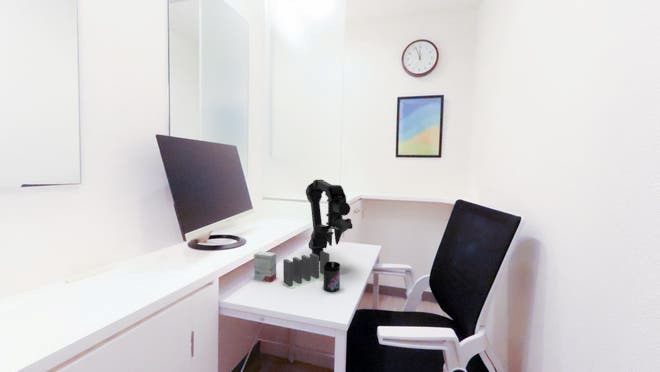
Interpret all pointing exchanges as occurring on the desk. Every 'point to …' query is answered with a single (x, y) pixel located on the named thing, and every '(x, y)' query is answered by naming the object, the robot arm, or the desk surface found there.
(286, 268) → the domino
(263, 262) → the ink box
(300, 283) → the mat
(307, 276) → the domino
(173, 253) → the desk surface
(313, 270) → the domino
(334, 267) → the supplement container
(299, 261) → the domino
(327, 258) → the domino
